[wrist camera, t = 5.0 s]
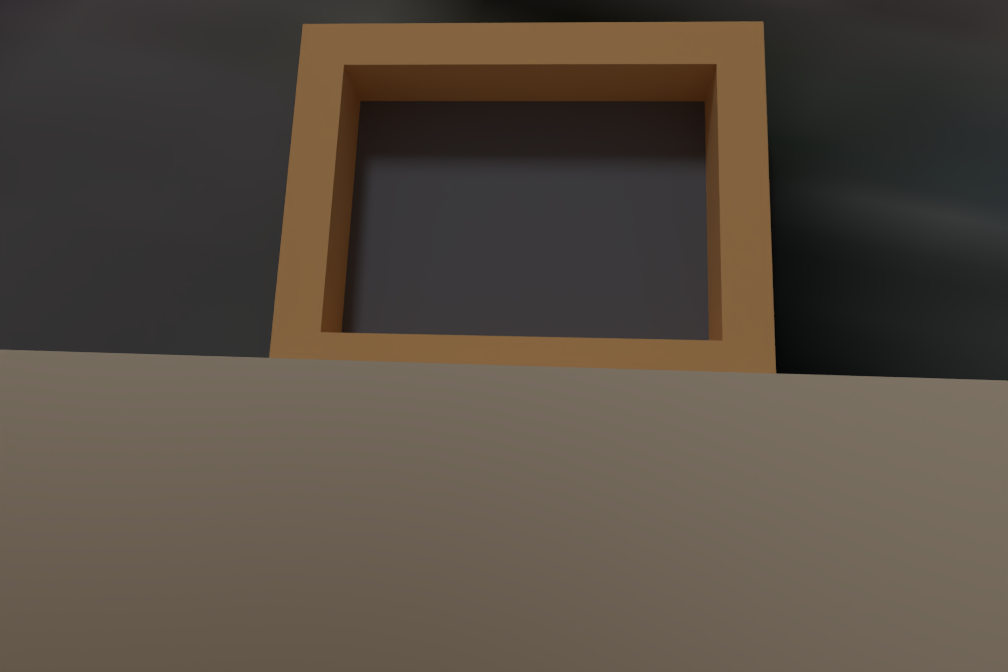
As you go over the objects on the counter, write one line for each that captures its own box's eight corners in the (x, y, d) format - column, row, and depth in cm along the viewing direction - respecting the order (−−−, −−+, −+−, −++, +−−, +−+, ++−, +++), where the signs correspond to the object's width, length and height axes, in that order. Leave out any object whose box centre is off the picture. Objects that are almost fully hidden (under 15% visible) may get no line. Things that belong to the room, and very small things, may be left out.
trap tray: (754, 408, 19) (776, 392, 17) (296, 396, 19) (267, 379, 17) (744, 71, 21) (763, 21, 19) (326, 71, 21) (302, 24, 19)
